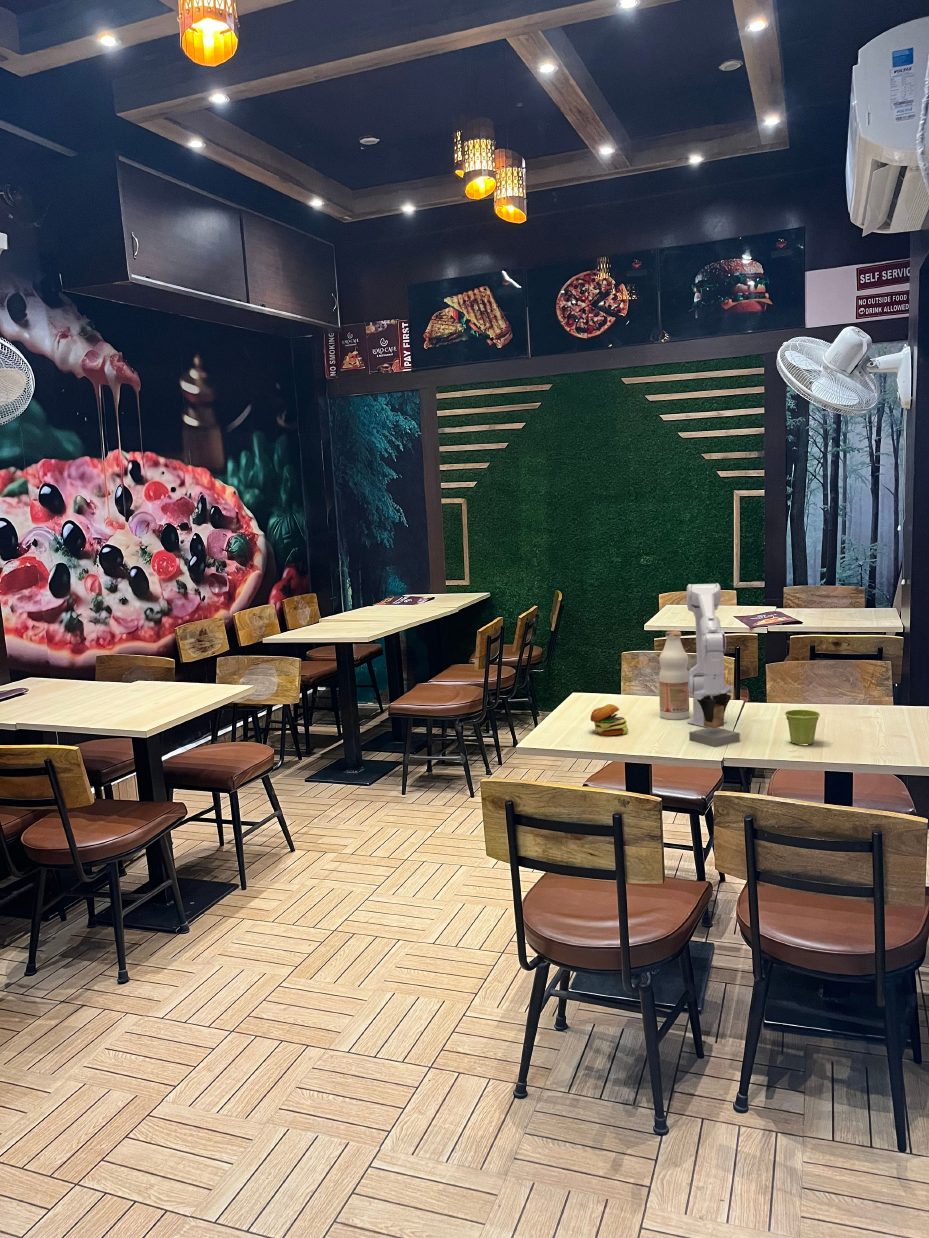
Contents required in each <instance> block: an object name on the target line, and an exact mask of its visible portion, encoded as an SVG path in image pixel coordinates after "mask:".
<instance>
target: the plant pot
mask: <svg viewBox="0 0 929 1238" xmlns="http://www.w3.org/2000/svg"><path fill="white" fill-rule="evenodd" d="M784 715H785V716H786V720H787V723H788V725H787V726H788V731H789V738H790V739H789V740H790V743H791V742H792V743H791V744H793V743H795V745H797V744H810V745H812V744H811V743H813V742H815V737H816V730H817V724H818V720H819V718H820V717H821V713H820V712H818V711H816V710H809V709H790V710H786V711H785V712H784ZM813 744H814V743H813Z"/></svg>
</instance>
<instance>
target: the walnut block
mask: <svg viewBox="0 0 929 1238" xmlns="http://www.w3.org/2000/svg"><path fill="white" fill-rule="evenodd" d="M703 715H704V714H703ZM724 721H725V713H724V706H721V705H716V704H715V705H714V710H713V721H712V722H707V721H705V717H704V726H705V727H704V728H722V727H724V726H725V723H724Z"/></svg>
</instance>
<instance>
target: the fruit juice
mask: <svg viewBox="0 0 929 1238" xmlns="http://www.w3.org/2000/svg"><path fill="white" fill-rule="evenodd" d="M681 637H682V632H681V631H678V630H670V631H669V630H668V631H666V632H665V638H666V640H665V644H664V647H663V649H662V651H661V653H660V655H659V659H658V660H659V665H660V671H659V675H658V676H659V678H658V681H659V682H658V683H659V685H658V686H659V691H658V692H659V693H658V694H659V716H660V718H662V719H665V720H673V721H675V720H676V721H678V720H685V719H688V718H690V717H689V716H690V693H689V690H688V677H689V676H688V673H689V671H688V668H687V666H688V664H689V656H688V653H687V652H686V650H685V649H684V646H683V644H682V641H681Z"/></svg>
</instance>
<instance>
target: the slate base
mask: <svg viewBox="0 0 929 1238" xmlns="http://www.w3.org/2000/svg"><path fill="white" fill-rule="evenodd" d="M688 733H689V736H688V737H689V739H688V741H689V742H690V741H691V742H692V743H693V742H694V743H698V744H701V745H704V746H708V747H713V748H718V747H722V746H727V745H731V744H735V743H739V742H741V740H740V739H741V737H740V735H741V733H740V732H739V731H733V730H729V729H725V728H722V727H718V728H710V727H704V728H702V729H695V730H692V731H689V732H688Z"/></svg>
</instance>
